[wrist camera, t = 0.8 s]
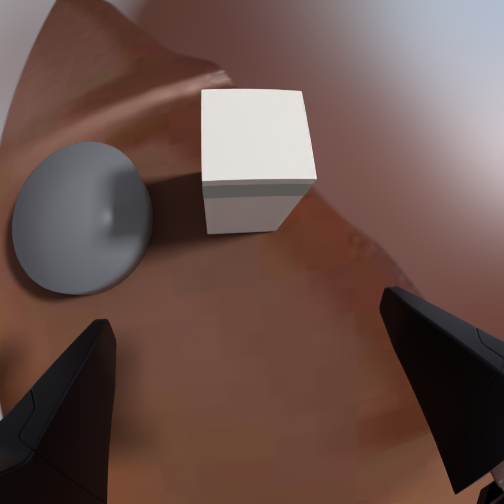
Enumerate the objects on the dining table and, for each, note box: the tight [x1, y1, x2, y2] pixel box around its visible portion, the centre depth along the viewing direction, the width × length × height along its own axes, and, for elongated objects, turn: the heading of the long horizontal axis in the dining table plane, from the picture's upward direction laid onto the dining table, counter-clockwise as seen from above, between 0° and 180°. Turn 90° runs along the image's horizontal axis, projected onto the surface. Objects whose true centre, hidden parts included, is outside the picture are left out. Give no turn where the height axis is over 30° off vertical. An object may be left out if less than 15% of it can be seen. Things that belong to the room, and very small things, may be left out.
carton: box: [201, 89, 317, 234], centre depth 19 cm, size 5×5×10 cm
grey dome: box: [12, 142, 153, 295], centre depth 20 cm, size 11×11×3 cm
